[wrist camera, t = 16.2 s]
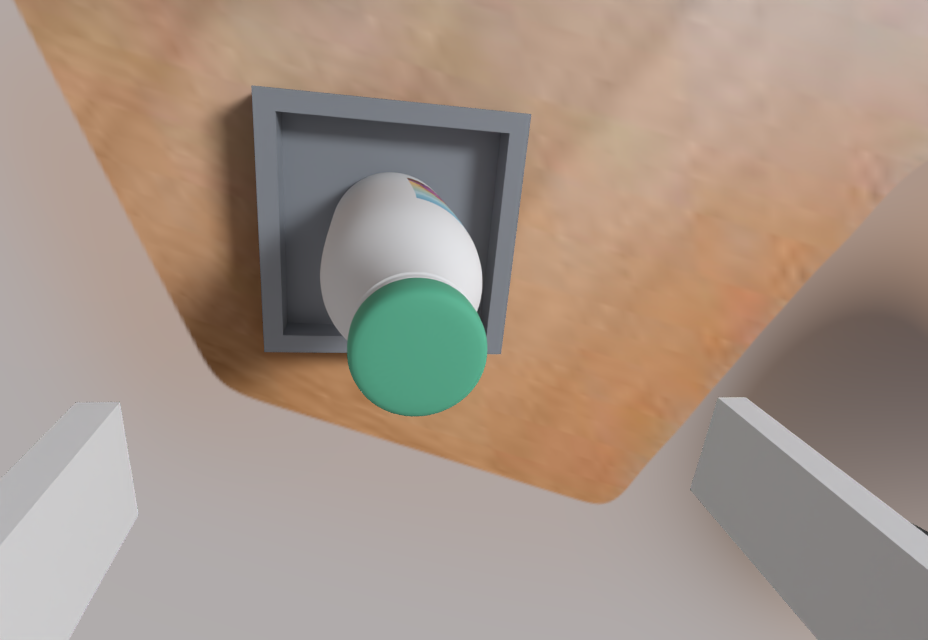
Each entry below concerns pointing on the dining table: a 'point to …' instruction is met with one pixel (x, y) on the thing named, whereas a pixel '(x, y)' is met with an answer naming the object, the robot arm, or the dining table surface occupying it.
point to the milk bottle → (404, 295)
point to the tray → (364, 154)
